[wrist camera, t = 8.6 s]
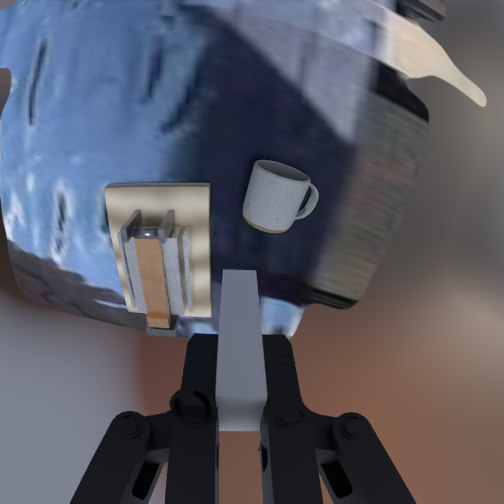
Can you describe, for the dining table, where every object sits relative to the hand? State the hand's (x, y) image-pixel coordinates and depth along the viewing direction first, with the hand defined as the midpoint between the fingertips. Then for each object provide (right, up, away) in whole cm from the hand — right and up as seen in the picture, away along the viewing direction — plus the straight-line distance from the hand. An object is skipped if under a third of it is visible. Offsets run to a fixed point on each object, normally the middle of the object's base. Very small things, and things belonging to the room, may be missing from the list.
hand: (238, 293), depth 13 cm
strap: (-14, -2, +26) cm, 30 cm away
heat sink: (-14, 0, +30) cm, 33 cm away
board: (-14, +2, +31) cm, 34 cm away
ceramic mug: (+5, +11, +27) cm, 30 cm away
